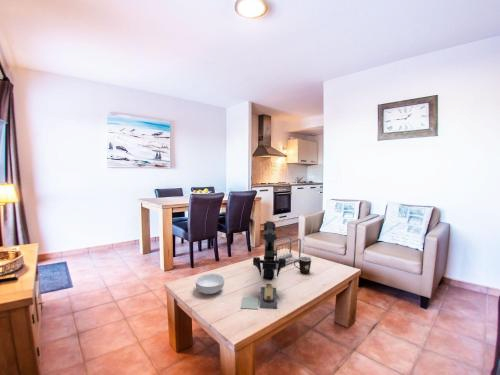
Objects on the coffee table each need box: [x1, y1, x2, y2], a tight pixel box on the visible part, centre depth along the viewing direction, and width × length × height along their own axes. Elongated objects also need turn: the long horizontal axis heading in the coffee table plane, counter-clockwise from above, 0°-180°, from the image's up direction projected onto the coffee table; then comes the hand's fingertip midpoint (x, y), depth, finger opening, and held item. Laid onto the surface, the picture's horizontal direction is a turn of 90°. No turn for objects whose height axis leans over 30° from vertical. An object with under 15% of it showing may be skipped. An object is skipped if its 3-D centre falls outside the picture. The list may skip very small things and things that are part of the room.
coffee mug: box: [293, 256, 312, 276], centre depth 175 cm, size 12×9×10 cm
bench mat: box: [240, 296, 260, 310], centre depth 134 cm, size 11×9×1 cm
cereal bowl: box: [195, 273, 225, 295], centre depth 147 cm, size 17×17×7 cm
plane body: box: [259, 282, 278, 309], centre depth 139 cm, size 18×9×6 cm, turn 176°
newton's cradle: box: [274, 235, 302, 270], centre depth 193 cm, size 30×10×18 cm, turn 133°
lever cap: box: [264, 285, 274, 302], centre depth 133 cm, size 3×4×10 cm, turn 86°
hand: (269, 276), depth 139 cm, fingers open, 9 cm apart
